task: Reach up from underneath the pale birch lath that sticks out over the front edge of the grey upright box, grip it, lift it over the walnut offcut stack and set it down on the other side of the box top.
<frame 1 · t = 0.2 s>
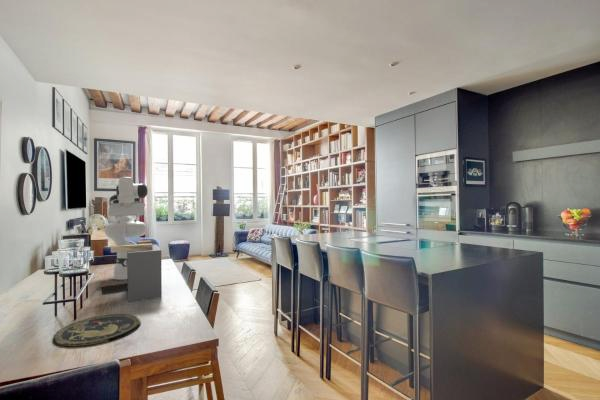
hand: (127, 222, 198), 39 cm above the table, tool pointing down, fingers open, 8 cm apart
tablet: (127, 288, 193), on the table
decorative plate: (99, 331, 127), on the table
birch lath: (132, 250, 170), point 26 cm above the table, touching grey upright box
grey upright box: (143, 293, 179), on the table
walnut offcuts: (143, 248, 180), resting on grey upright box
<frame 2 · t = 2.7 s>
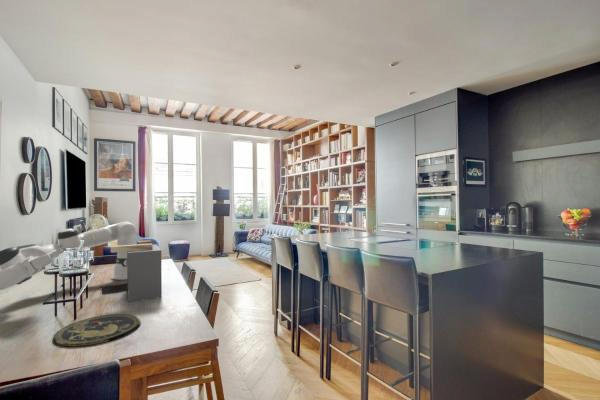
hand: (64, 249, 157), 29 cm above the table, tool pointing upward, fingers open, 8 cm apart
nothing on the table moved.
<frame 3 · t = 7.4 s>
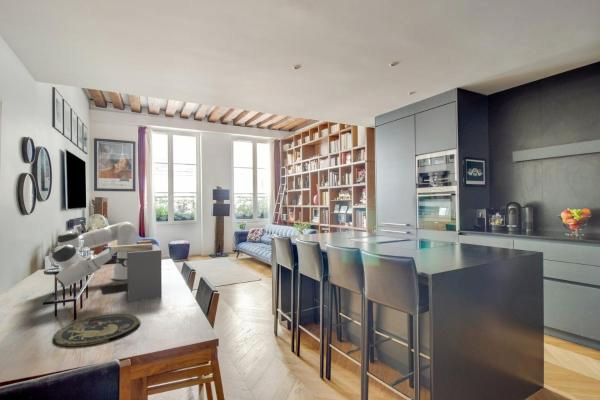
hand: (119, 247, 167), 28 cm above the table, tool pointing upward, fingers closed on birch lath, 4 cm apart
birch lath: (132, 250, 170), point 26 cm above the table, touching grey upright box, gripper
everything else where it was.
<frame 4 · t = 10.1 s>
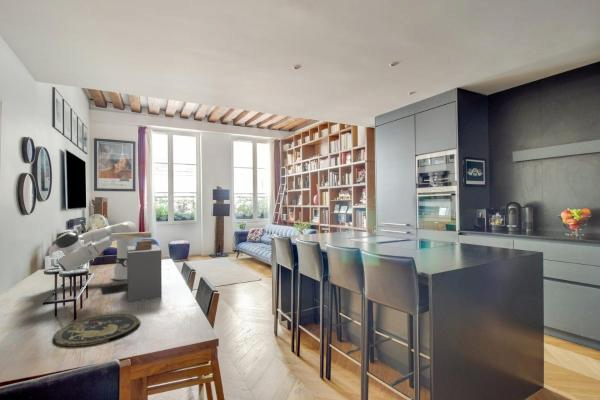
hand: (118, 235, 173), 34 cm above the table, tool pointing upward, fingers closed on birch lath, 4 cm apart
birch lath: (131, 238, 177), point 32 cm above the table, touching gripper
everything else where it was.
when the fingers open (29 cm above the table, at t = 12.9 s): birch lath stays where it is, resting on grey upright box.
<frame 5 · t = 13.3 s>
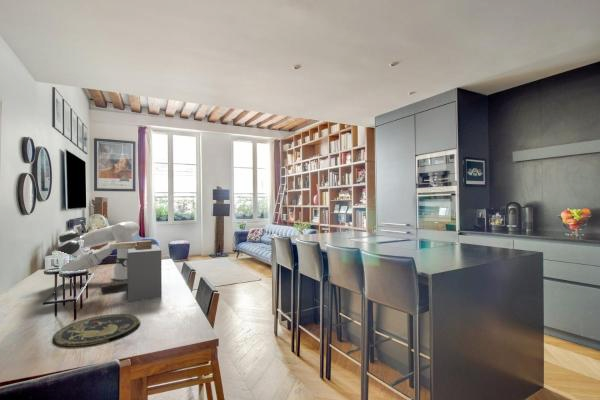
hand: (119, 243, 179), 29 cm above the table, tool pointing upward, fingers open, 8 cm apart
birch lath: (131, 247, 183), point 26 cm above the table, touching grey upright box
everything else where it was.
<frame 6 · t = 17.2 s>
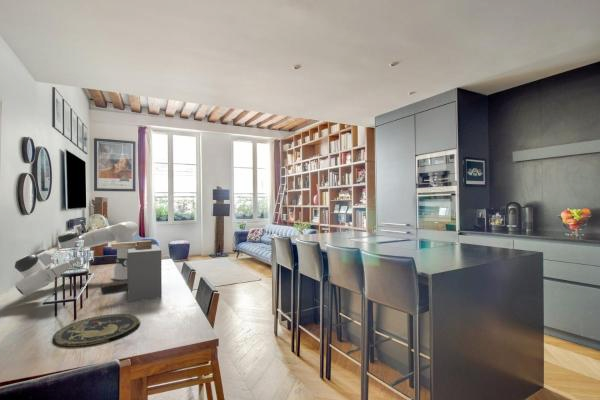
hand: (80, 256, 170), 23 cm above the table, tool pointing upward, fingers open, 8 cm apart
nothing on the table moved.
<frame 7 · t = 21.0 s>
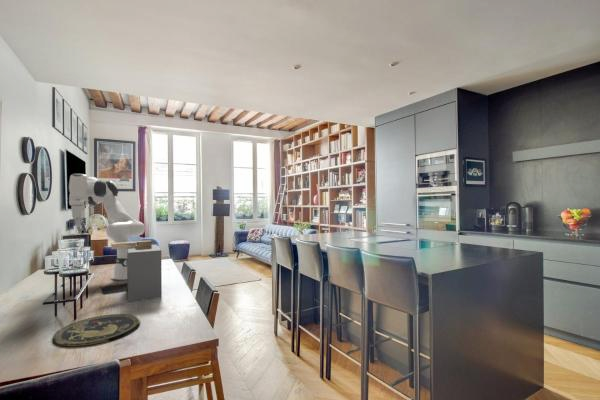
hand: (78, 226, 177), 39 cm above the table, tool pointing down, fingers open, 8 cm apart
nothing on the table moved.
at the end: birch lath inside the target area (0.3 cm from its centre), point 26.0 cm above the table; birch lath tilted 0°; the gripper is holding nothing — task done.
